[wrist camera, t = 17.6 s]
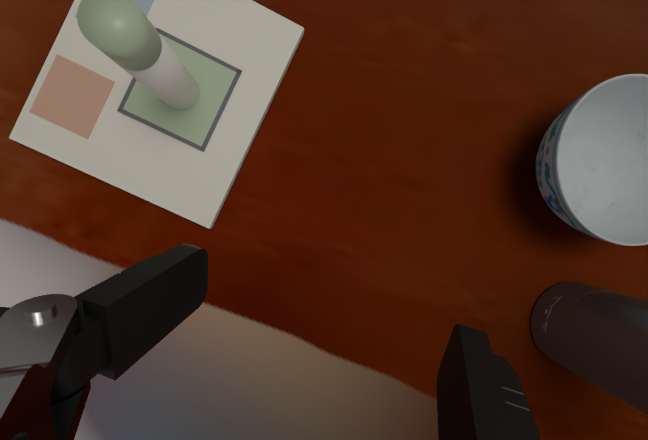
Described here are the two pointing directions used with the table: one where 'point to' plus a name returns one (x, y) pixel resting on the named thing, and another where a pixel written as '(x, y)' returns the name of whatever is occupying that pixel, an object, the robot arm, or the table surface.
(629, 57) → the table surface
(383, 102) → the table surface
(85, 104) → the picture board
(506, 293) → the table surface
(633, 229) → the chinaware
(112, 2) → the marker
